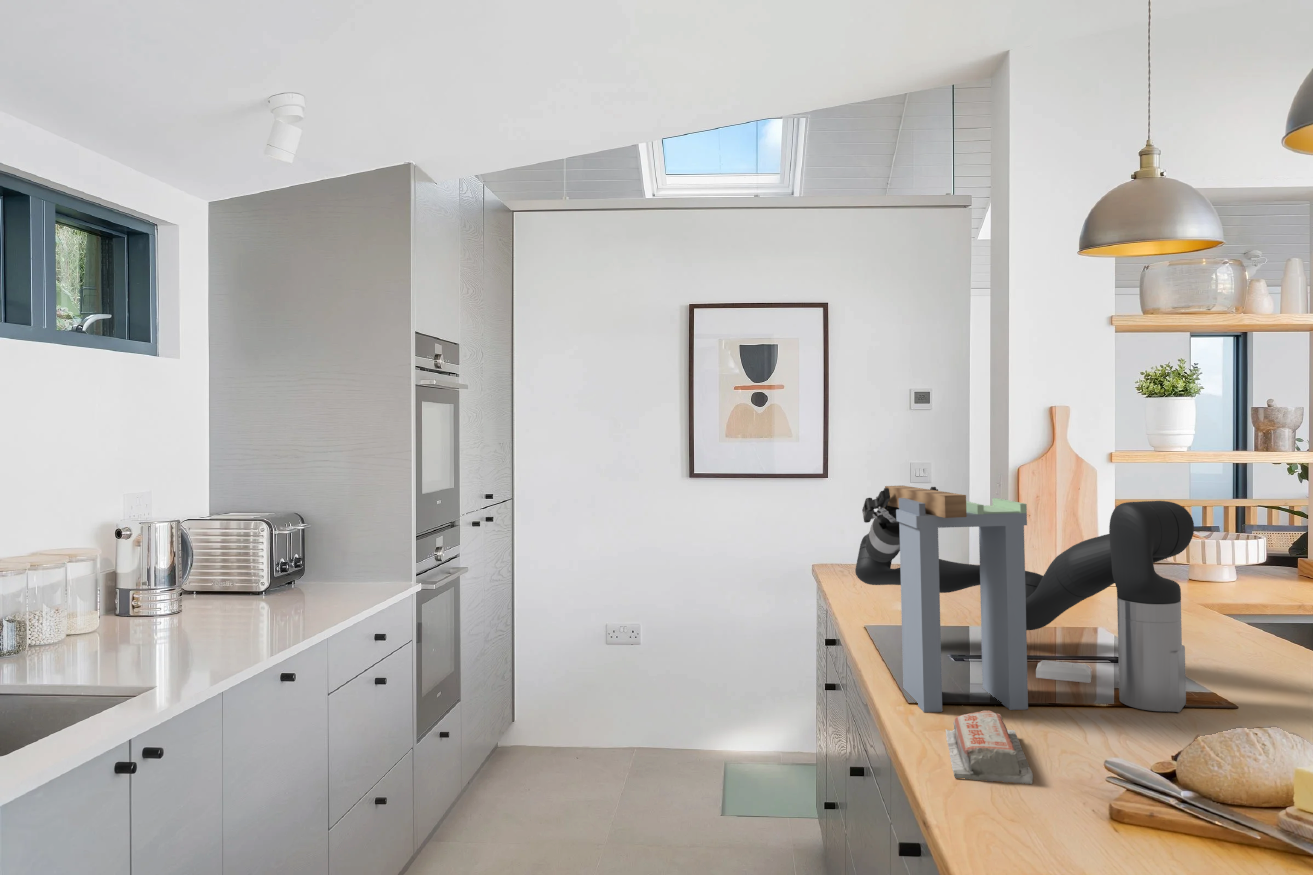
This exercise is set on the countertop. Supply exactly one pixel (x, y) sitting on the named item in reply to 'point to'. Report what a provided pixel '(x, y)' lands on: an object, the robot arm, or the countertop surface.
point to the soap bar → (1063, 671)
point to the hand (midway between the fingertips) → (911, 491)
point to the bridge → (997, 593)
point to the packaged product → (986, 749)
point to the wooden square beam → (931, 500)
